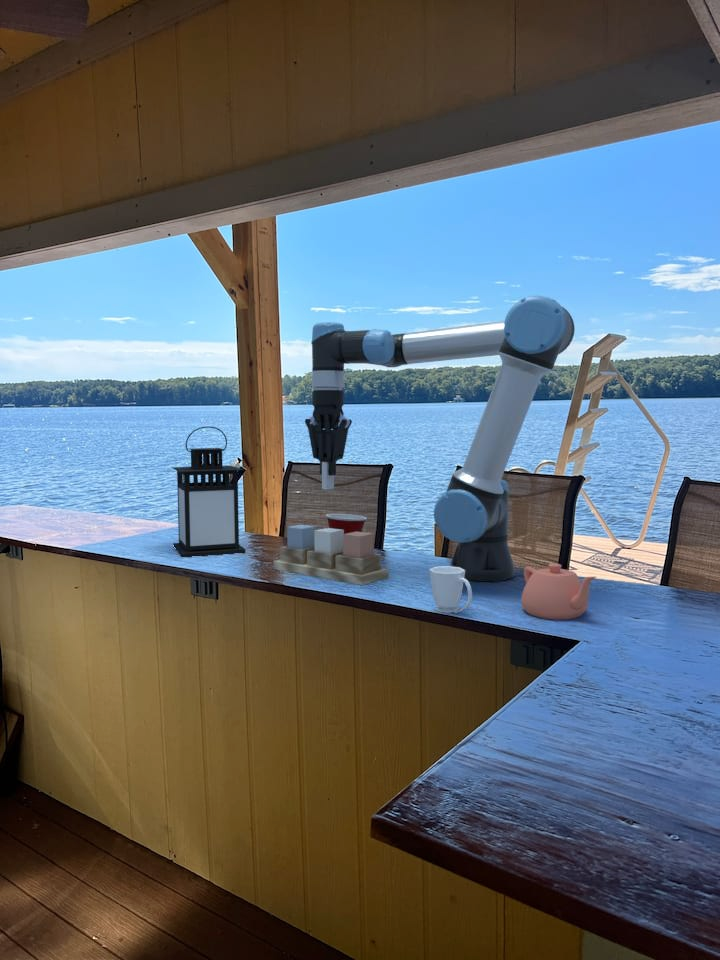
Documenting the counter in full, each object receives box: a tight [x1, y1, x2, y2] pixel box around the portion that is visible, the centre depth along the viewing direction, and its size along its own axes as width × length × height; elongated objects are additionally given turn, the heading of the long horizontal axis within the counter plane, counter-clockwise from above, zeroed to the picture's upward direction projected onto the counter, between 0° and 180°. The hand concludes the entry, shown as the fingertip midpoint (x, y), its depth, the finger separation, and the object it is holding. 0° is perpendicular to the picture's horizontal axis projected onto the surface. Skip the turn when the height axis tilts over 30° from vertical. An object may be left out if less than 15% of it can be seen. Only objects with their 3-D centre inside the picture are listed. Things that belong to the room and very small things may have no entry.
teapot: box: [520, 563, 597, 621], centre depth 141 cm, size 12×18×10 cm
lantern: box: [170, 426, 246, 558], centre depth 207 cm, size 17×17×35 cm
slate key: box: [286, 524, 317, 550], centre depth 183 cm, size 5×5×6 cm
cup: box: [428, 565, 473, 614], centre depth 143 cm, size 7×10×8 cm
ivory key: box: [314, 527, 344, 554], centre depth 177 cm, size 5×5×6 cm
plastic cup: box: [325, 513, 368, 534], centre depth 193 cm, size 11×11×12 cm
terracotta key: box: [343, 531, 375, 559], centre depth 172 cm, size 5×5×6 cm
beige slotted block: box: [272, 545, 389, 586], centre depth 178 cm, size 28×10×6 cm, turn 52°
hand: (327, 488), depth 176 cm, fingers closed
